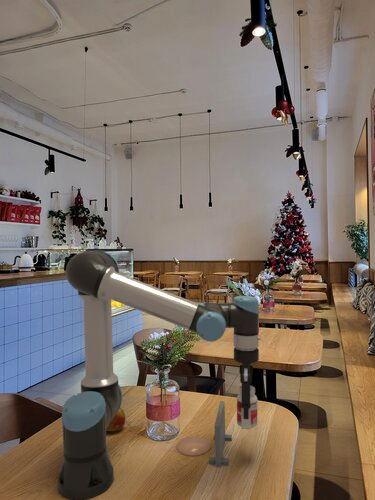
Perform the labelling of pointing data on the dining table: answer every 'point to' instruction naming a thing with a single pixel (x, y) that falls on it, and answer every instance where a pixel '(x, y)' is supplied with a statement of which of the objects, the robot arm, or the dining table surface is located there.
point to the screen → (220, 438)
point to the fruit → (117, 421)
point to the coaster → (193, 446)
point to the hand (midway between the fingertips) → (246, 422)
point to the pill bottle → (253, 406)
